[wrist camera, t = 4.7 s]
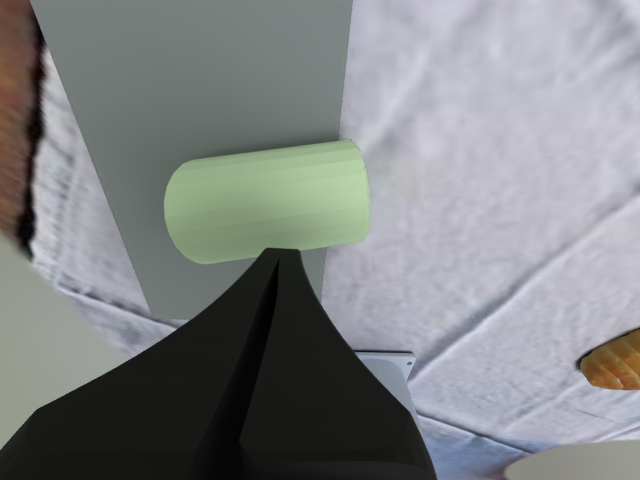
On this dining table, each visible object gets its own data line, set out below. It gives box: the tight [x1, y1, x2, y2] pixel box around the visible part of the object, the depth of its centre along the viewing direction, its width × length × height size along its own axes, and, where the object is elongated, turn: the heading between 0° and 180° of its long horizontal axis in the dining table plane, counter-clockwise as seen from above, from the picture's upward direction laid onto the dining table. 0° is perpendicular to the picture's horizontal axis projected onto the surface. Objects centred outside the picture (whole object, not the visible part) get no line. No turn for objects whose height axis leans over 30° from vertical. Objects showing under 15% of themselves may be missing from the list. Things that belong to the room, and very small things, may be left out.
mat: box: [30, 0, 353, 320], centre depth 15 cm, size 20×13×1 cm, turn 176°
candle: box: [164, 139, 370, 264], centre depth 12 cm, size 5×5×8 cm
